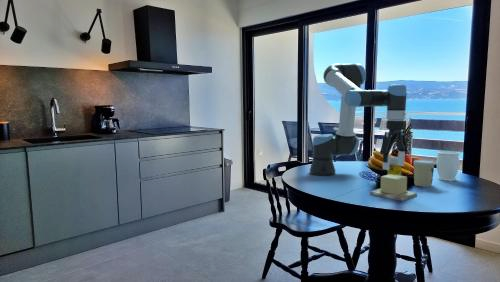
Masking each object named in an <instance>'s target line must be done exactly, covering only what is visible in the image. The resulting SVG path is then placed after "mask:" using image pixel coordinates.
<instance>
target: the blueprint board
mask: <svg viewBox="0 0 500 282" xmlns="http://www.w3.org/2000/svg"><path fill="white" fill-rule="evenodd" d="M380 190H381V187H380V188H377V189H374V190H371V191H370V195H372V196H377V197H382V198H388V199H391V200H392V199H393V200H396V201H402V202H404V201H406V200H410V199H411V198H414V197H416V196H418V192H413V191H409V190H407V192H406V193H403V194H400V195H394V194H389V193H384V192H380Z"/></svg>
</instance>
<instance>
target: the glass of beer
mask: <svg viewBox="0 0 500 282" xmlns="http://www.w3.org/2000/svg"><path fill="white" fill-rule="evenodd" d="M389 174H392V175H399V176H402V166H400V165H398V156H390V165H389V170H387V174H386V175H389Z"/></svg>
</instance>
